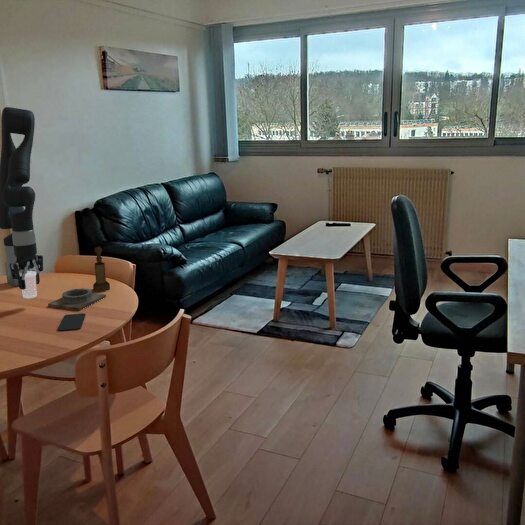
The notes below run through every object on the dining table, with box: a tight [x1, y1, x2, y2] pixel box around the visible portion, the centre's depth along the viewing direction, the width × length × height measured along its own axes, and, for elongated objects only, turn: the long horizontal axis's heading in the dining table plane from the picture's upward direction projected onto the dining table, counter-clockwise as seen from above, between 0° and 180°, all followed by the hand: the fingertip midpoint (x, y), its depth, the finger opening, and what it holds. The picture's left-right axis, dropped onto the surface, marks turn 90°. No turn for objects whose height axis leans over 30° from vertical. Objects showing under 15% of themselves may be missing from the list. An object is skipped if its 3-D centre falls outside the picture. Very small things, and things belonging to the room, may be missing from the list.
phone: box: [57, 313, 86, 332], centre depth 180 cm, size 7×1×15 cm
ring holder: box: [47, 288, 107, 312], centre depth 199 cm, size 14×16×4 cm
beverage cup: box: [20, 270, 38, 300], centre depth 192 cm, size 6×6×14 cm
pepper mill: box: [92, 246, 111, 293], centre depth 212 cm, size 7×6×18 cm
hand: (29, 286), depth 193 cm, fingers closed on beverage cup, 6 cm apart
